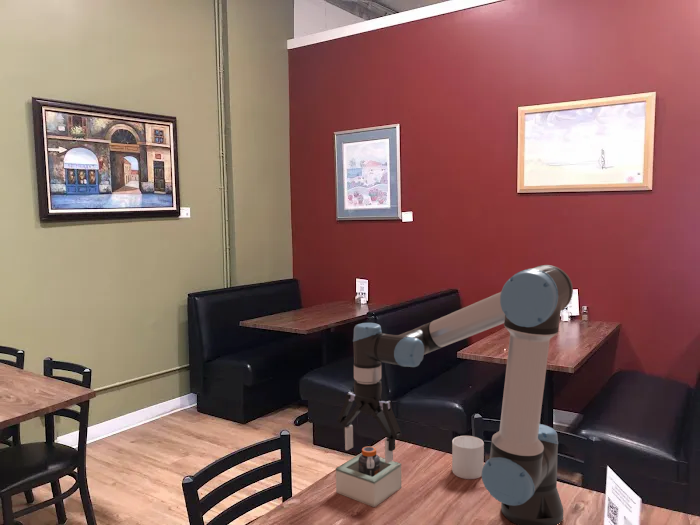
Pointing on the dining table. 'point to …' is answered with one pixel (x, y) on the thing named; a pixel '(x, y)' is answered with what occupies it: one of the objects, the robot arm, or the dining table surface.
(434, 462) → the dining table surface
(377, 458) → the pill bottle
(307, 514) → the dining table surface
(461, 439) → the mug
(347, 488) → the box
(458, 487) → the dining table surface
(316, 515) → the dining table surface
